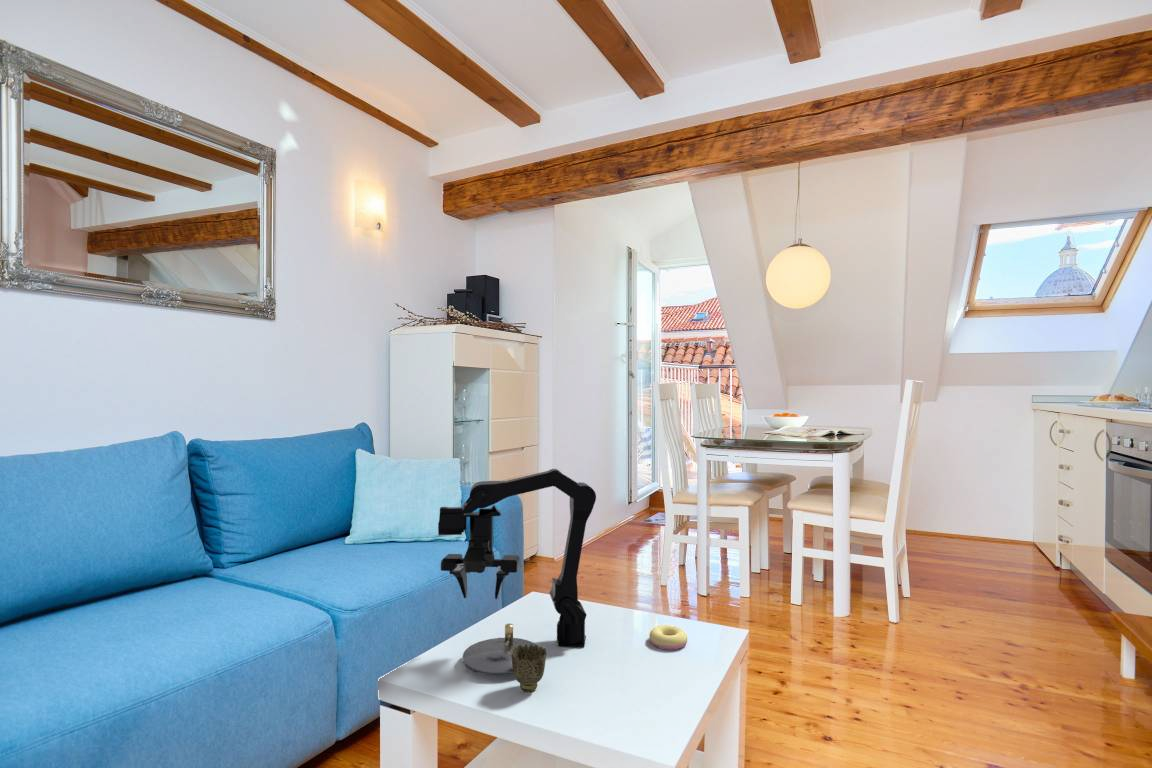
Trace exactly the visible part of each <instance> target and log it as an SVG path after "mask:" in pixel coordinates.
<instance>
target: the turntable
mask: <svg viewBox="0 0 1152 768" xmlns="http://www.w3.org/2000/svg"><path fill="white" fill-rule="evenodd" d="M526 644H527V647H528V648H529V647H530V645H531V644H533V645H534V646H535V645H537V646H538V648H540V647H541V646H539V645H538V644H537V643H535V642H533V641H531V640H528V639H524V638H519V637H514V624H513V623H505V625H504V637H495V638H494V637H493V638H488V639H484V640H481V641H477V642H476V643H474V644H471V645H470V646H468V647H467V648H465V650H464V651H463V653H462V663H463V664H464V666H465V667H466V668H467V669H469V670H470V671H473V672H475V673H479V674H483V675H490V676H499V675H500V676H501V675H502V676H503V675H504V676H505V675H514V673H513V667H512V657H511V652H512V653H513V648H514V647H515V648H517V646H518V645H521V646H522V647H524V646H525V645H526Z"/></svg>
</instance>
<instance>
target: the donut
mask: <svg viewBox="0 0 1152 768" xmlns="http://www.w3.org/2000/svg"><path fill="white" fill-rule="evenodd" d="M648 635H649V637H648V638H649V640H650V642H651V643H652V644H653V645H654V646H655V647H657V648H659V647H660V648H659V649H662V648H663V650H667V649H675V650H679V648H680V649H682V648H683V647H685V646H686V645H687V643H688V640H689V639H688V638H689V637H688V634H687V633H686V631H685V630H684V629H682V628H680V627H678V626H676V625H669V624H661V625H657V626H655V627H653V628H652V629H651V630H650V632H649V634H648Z"/></svg>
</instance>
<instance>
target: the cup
mask: <svg viewBox="0 0 1152 768" xmlns="http://www.w3.org/2000/svg"><path fill="white" fill-rule="evenodd" d="M537 645H538V644H537ZM537 645H535V646H534V645H533V644H531V645H530V647H529V648H528V647H527V644H526V645H525V646H524V647H522V646H521V645H518V646H517V648H515V647H514V648H513V653H512V652H511V657H512V667H513V677H514V678H515V681H517V682H518V683H519V688H520V690H521V691H522V692H525V693H531V692H532V693H533V692H534V691H536V690H537V688H538V683H539V682H540V681H541V680H542V678H543V677H544V673H545V667H546V659H547V648H546V647H543V646H542V645H540V646H539V645H538V646H539V647H540V648H538V646H537Z"/></svg>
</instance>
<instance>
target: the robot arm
mask: <svg viewBox="0 0 1152 768" xmlns="http://www.w3.org/2000/svg"><path fill="white" fill-rule="evenodd" d="M550 487H551V488H552V487H555V488H556V489H558V490H559V491H561V492H562V493H564V494H565V495H566V496H568V497H569V514H570V516H569V517H570V519H569V525H568V530H567V531H568V532H567V536H566V542H565V548H564V552H563V559H562V565H561V570H560V571H561V572H560V574H559V575H558V578H554V577H552V579H551V589H550V590H549V593H548V594H549V595H550V599H551V600H552V603H553V605H554V610H555V611H556V612H557V613H558V614H559V619H558V621H557V622H556V623H557V624H556V641H557V642H558V643H557V647H568V648H569V647H570V648H584V647H585V646H586V640H587V635H586V618H587V613H586V611H585V609H584V607H583V604H582V603H581V601H579V598H578V595H579V594H578V593H579V592H578V571H579V567H580V562H581V561H580V559H581V555H582V554H581V553H582V550H583V544H584V537H585V532H586V526H587V522H588V519H589V517H590V516H591V513H592V512H593V509H594V505H595V503H596V500H597V493H596V492H595V490H594V489H593V488H592V487H591V486H590V485H588V484H587V483H585V482H577V481H576V480H573V479H571V478H570V477H568V476H567V475H565V474H563V473H562V472H561V471H560V470H559V469H558V468H551V469H548V470H545V471H542V472H537V473H534V474H530V475H525V476H521V477H517V478H516V477H515V478H512V479H507V480H486V481H485V480H484V481H483V480H482V481H478V482H476V483H474V484H473V485H472V486H471V488H470V491H469V496H468V498H467V499H466V501H465V502H464V503H463V505H462V506H458V507H454V506H453V507H451V506H450V507H449V506H440V508H439V518H438V522H437V525H438V527H437V531H438V535H437V536H440V537H441V536H463V533H465V531H466V532H467V529H468V527H467V526H468V518H469V535H468V536H469V540H468V544H467V545H468V546H467V549H466V551H465V555H464V557H463V554H462V553H448V554H447V555H445V557H443V558H442V559H441V561H440V571H441V572H442V571H444V572H448V573H449V574H450V575H453V576H454V577H455V579H456V581H457V583H458V584H459V585H458V586H459V588H460V591H461V593H462V596H463V599H467V597H468V574H470V573H477V574H481V573H484V572H485V570H486V568H497V569H498V571H497V572H496V573H495V574H496V575H495V576H496V579H495V590H494V600H497V599H498V598H499V595H500V592H501V588H502V586H503V583H504V579H505V578H506V576H509V575H510V573H517V572H518V571H519V569H520V568H521V557H520V555H515V554H513V555H512V554H510V555H509V554H505V555H503V557H502V559H501V558H495V554H494V517H500V516H501V513H502V512H501V511H500V510H499V509H498V508H497V506H496V505H495V504H497V503H499V502H501V501H503V500H504V499H507V498H509V497H513V496H518V495H521V494H526V493H529V492H530V493H531V492H534V491H539V490H542V489H547V488H550ZM490 506H491V507H490ZM487 507H488V508H487ZM489 507H490V508H489ZM477 510H478V511H477Z"/></svg>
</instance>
